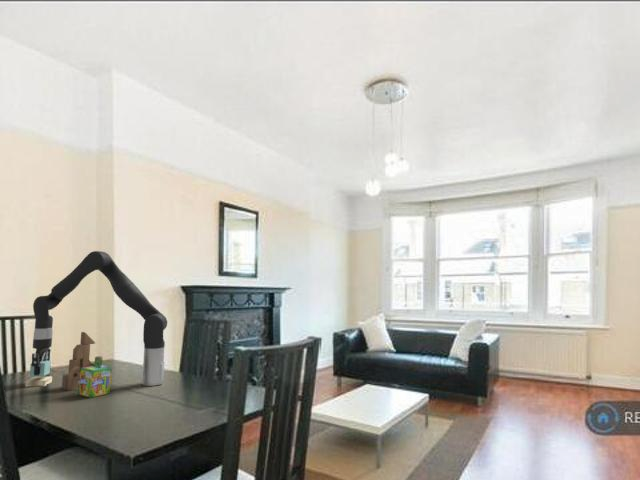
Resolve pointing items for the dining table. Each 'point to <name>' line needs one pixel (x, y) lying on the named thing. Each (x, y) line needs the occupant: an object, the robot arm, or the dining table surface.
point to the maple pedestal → (38, 381)
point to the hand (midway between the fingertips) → (39, 373)
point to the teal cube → (41, 369)
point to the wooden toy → (78, 363)
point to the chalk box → (95, 380)
